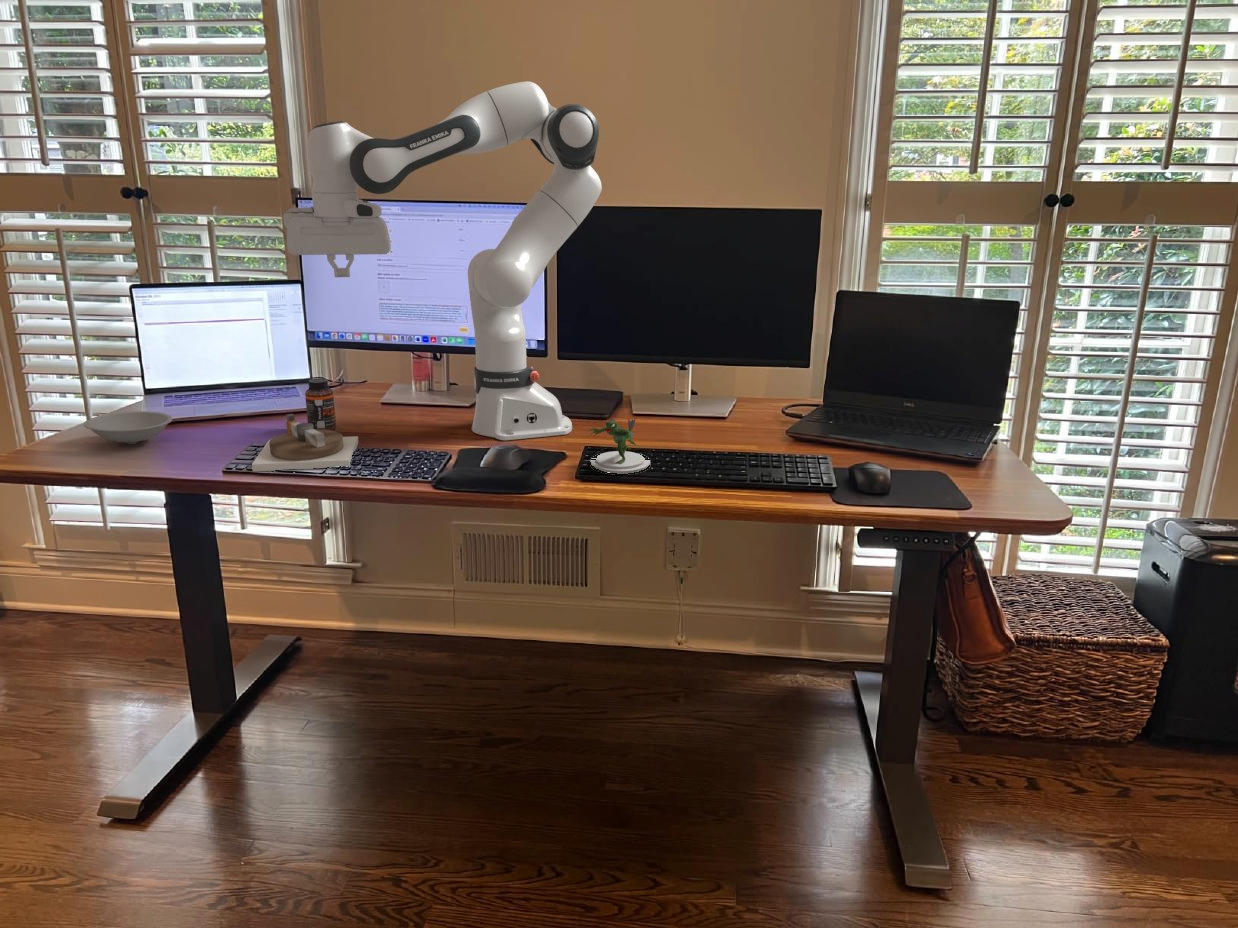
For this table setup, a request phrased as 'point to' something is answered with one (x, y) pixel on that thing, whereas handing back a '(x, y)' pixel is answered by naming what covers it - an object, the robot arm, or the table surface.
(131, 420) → the dish
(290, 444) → the dial
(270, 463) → the dial base
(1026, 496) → the table surface
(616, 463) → the monster figurine
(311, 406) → the supplement bottle
